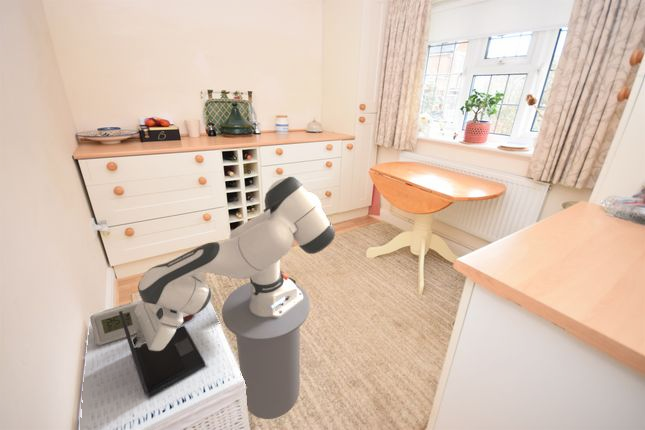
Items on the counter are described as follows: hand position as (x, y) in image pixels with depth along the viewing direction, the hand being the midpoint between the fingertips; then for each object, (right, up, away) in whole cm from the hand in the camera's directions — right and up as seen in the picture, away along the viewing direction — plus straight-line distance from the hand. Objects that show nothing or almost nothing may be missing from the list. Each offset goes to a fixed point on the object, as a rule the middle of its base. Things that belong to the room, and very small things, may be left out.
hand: (135, 344), depth 86 cm
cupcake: (+3, -2, +26) cm, 26 cm away
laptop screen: (-1, -2, +1) cm, 2 cm away
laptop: (+5, -9, +9) cm, 14 cm away
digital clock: (-16, -4, +18) cm, 24 cm away
